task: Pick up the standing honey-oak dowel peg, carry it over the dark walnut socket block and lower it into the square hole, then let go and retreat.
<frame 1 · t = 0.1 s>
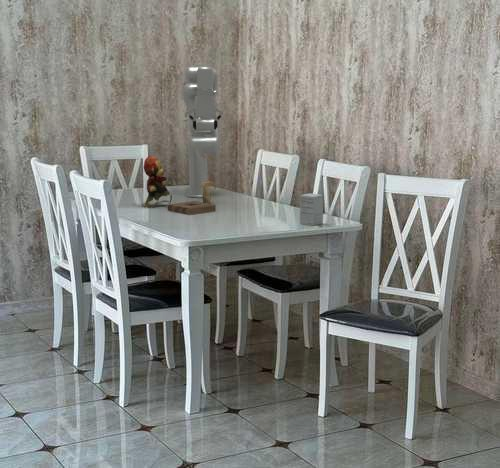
hand: (205, 129, 396), 37 cm above the table, tool pointing down, fingers open, 9 cm apart
peg: (206, 207, 397), on the table
socket block: (191, 210, 387), on the table
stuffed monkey: (156, 206, 401), on the table
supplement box: (311, 224, 355), on the table
figurine: (207, 203, 412), on the table
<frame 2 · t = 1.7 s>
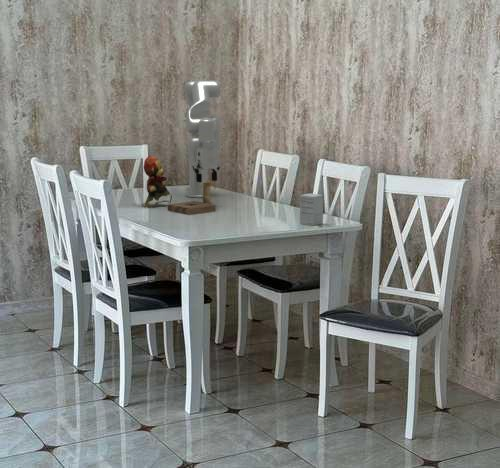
hand: (206, 181, 394), 13 cm above the table, tool pointing down, fingers open, 9 cm apart
nothing on the table moved.
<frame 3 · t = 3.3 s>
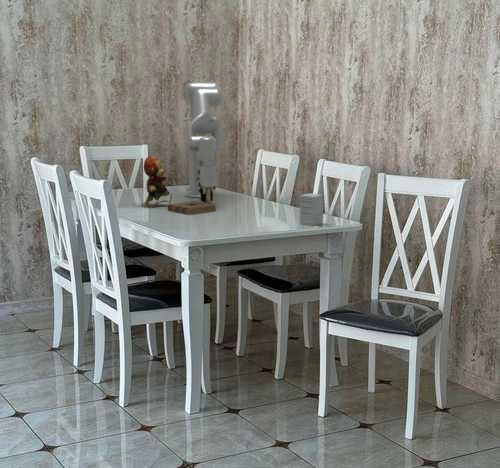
hand: (206, 200, 397), 3 cm above the table, tool pointing down, fingers closed on peg, 3 cm apart
peg: (206, 207, 397), on the table, touching gripper
everything else where it was.
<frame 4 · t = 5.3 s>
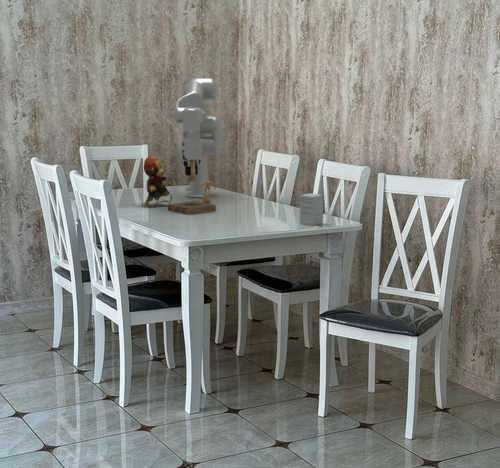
hand: (191, 174, 384), 17 cm above the table, tool pointing down, fingers closed on peg, 3 cm apart
peg: (191, 181, 384), point 14 cm above the table, touching gripper
everything else where it was.
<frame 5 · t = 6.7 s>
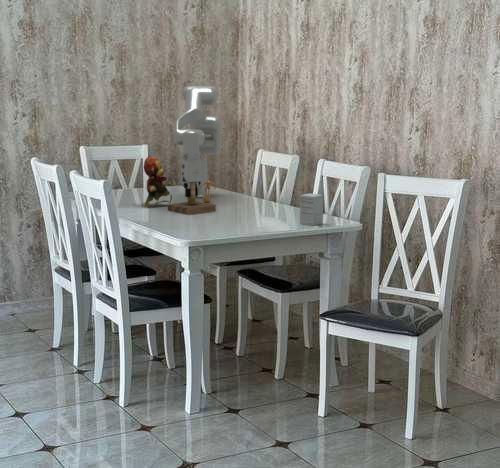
hand: (191, 196, 385), 7 cm above the table, tool pointing down, fingers closed on peg, 3 cm apart
peg: (191, 203, 386), point 4 cm above the table, touching gripper
everything else where it was.
when the fingers open (4 cm above the table, at t = 7.5 s): peg stays where it is, resting in socket block.
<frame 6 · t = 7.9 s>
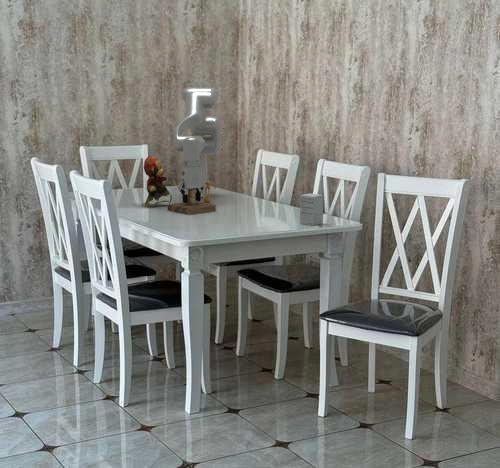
hand: (191, 201, 386), 4 cm above the table, tool pointing down, fingers open, 7 cm apart
peg: (191, 210, 387), resting in socket block
everything else where it was.
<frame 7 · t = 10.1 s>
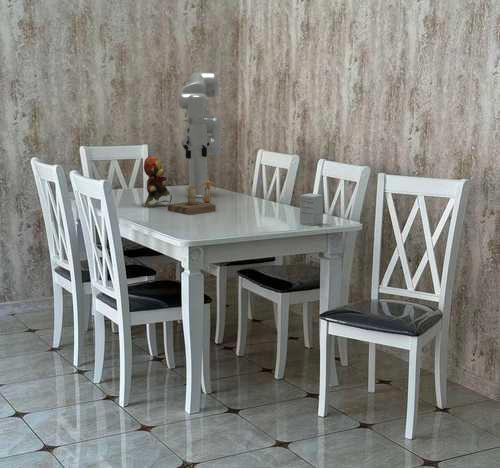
hand: (196, 157, 391), 24 cm above the table, tool pointing down, fingers open, 9 cm apart
nothing on the table moved.
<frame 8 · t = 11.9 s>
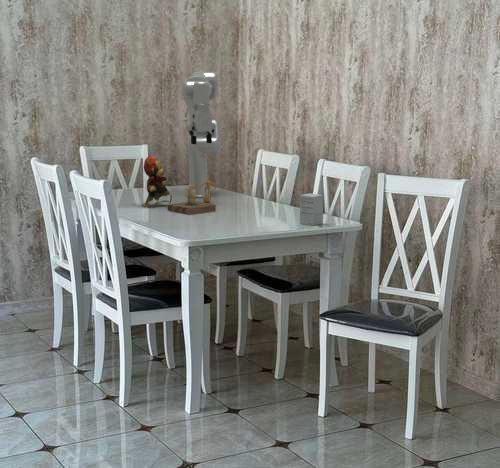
hand: (201, 143, 397), 30 cm above the table, tool pointing down, fingers open, 9 cm apart
nothing on the table moved.
at the end: peg 0.1 cm off-centre on the socket block, point 0.0 cm above the socket block's base; peg tilted 0°; the gripper is holding nothing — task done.
